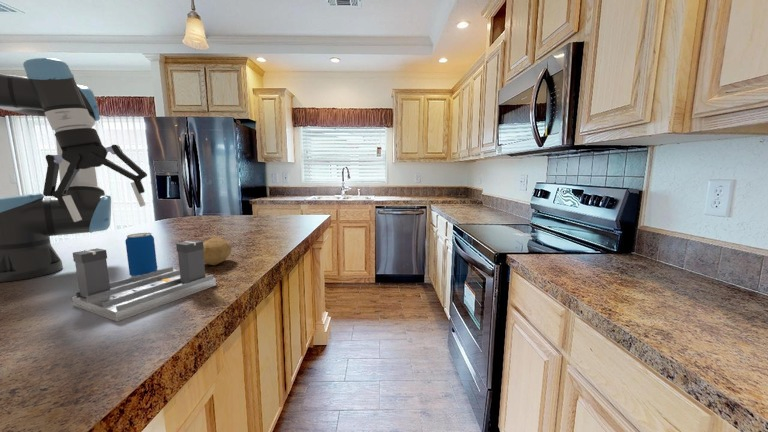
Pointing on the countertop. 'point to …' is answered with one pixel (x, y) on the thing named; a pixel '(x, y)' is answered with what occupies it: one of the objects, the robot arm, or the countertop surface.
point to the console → (141, 293)
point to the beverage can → (141, 253)
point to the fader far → (191, 260)
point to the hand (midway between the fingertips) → (111, 213)
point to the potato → (215, 251)
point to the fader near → (91, 271)
